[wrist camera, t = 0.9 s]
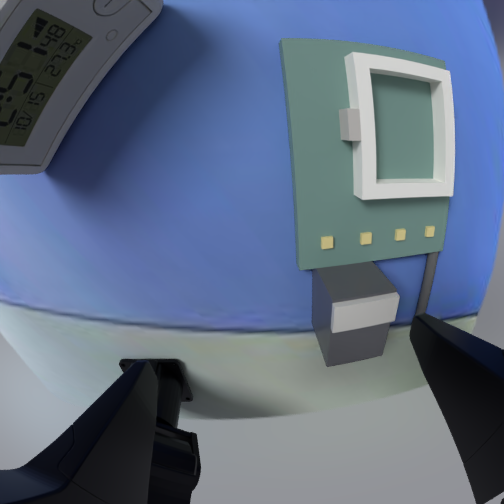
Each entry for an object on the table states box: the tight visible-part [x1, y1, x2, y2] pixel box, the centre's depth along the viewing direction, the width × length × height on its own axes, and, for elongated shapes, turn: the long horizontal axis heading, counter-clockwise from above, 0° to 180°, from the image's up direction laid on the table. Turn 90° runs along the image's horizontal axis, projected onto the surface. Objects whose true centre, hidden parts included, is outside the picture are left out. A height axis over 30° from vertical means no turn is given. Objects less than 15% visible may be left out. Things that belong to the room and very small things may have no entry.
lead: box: [415, 251, 439, 315], centre depth 22 cm, size 12×1×1 cm, turn 6°
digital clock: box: [0, 0, 163, 175], centre depth 9 cm, size 16×9×11 cm, turn 125°
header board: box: [279, 38, 455, 270], centre depth 17 cm, size 16×13×3 cm
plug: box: [312, 261, 400, 367], centre depth 20 cm, size 6×4×6 cm
